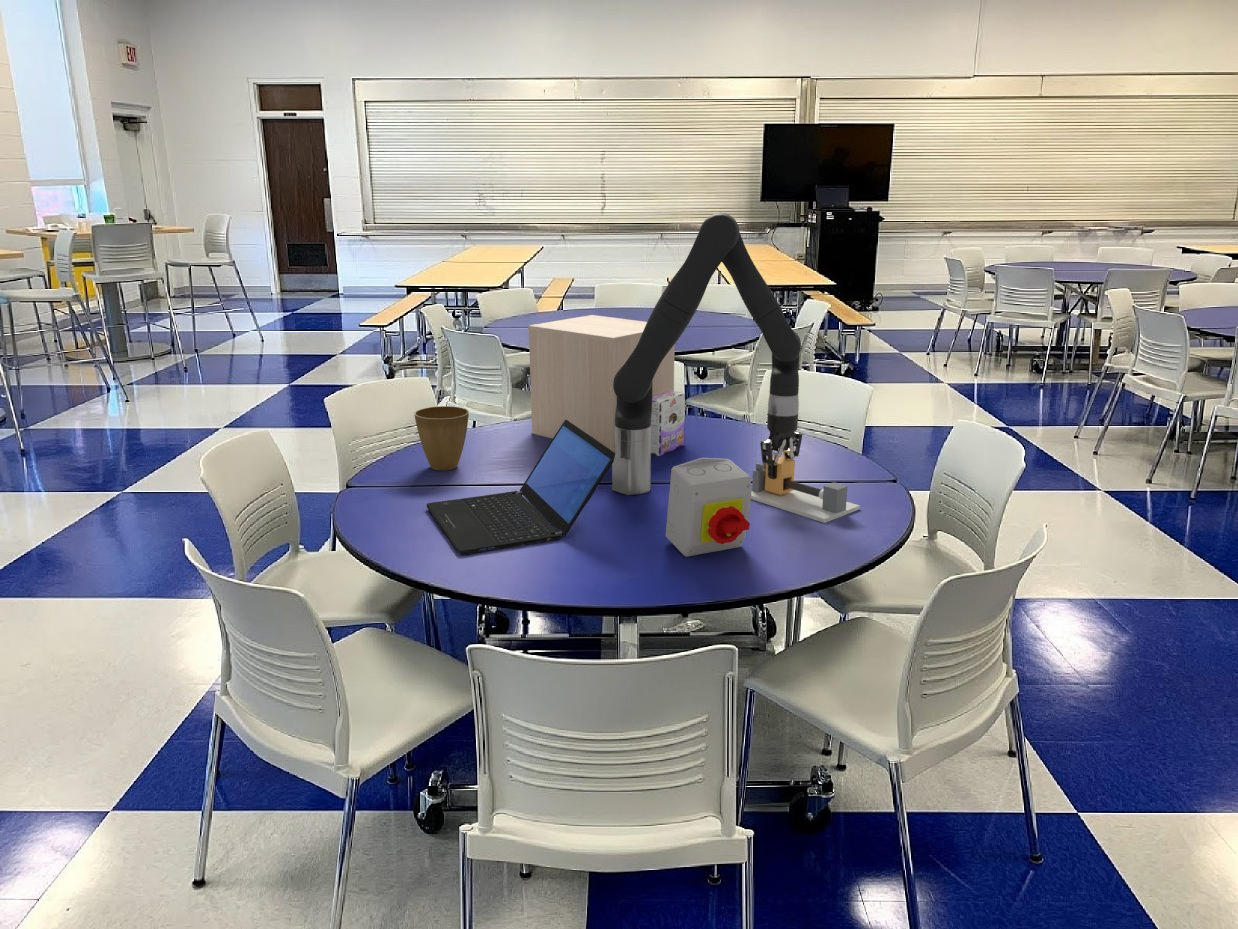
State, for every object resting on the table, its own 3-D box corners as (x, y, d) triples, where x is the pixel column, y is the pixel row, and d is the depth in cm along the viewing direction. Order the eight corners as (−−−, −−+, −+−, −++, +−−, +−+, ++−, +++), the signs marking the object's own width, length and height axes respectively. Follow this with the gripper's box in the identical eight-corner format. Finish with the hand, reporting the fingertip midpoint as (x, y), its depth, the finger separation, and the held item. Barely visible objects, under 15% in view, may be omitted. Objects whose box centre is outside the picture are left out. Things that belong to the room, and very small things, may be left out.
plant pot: (448, 478, 256) (445, 421, 251) (406, 470, 263) (402, 414, 258) (482, 463, 268) (479, 409, 263) (441, 456, 275) (438, 403, 270)
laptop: (425, 510, 233) (420, 434, 227) (568, 490, 247) (567, 418, 241) (458, 558, 204) (453, 473, 198) (618, 533, 218) (618, 452, 212)
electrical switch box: (695, 576, 199) (704, 491, 190) (664, 542, 211) (671, 461, 202) (755, 564, 204) (766, 482, 196) (722, 532, 217) (731, 453, 208)
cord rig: (744, 496, 240) (745, 466, 238) (779, 485, 249) (780, 455, 246) (824, 523, 222) (826, 490, 220) (859, 509, 231) (861, 477, 229)
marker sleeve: (764, 490, 240) (766, 460, 238) (777, 485, 243) (779, 456, 241) (780, 494, 237) (781, 464, 234) (793, 490, 240) (794, 460, 238)
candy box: (668, 442, 288) (669, 390, 283) (685, 445, 285) (686, 392, 280) (643, 453, 278) (643, 398, 273) (660, 456, 274) (660, 401, 269)
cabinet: (674, 433, 298) (676, 325, 288) (614, 453, 277) (613, 337, 267) (593, 416, 320) (592, 314, 310) (531, 433, 299) (528, 325, 289)
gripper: (776, 419, 227) (773, 485, 232) (813, 409, 236) (809, 473, 241) (752, 413, 232) (749, 478, 237) (789, 404, 241) (786, 467, 246)
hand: (779, 475), depth 239 cm, fingers closed on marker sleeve, 5 cm apart
